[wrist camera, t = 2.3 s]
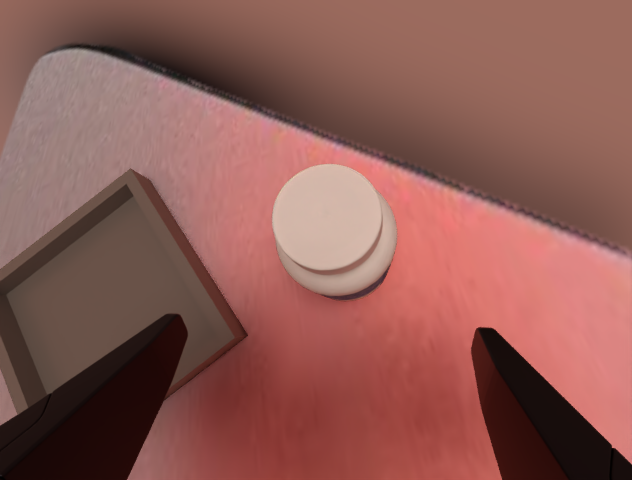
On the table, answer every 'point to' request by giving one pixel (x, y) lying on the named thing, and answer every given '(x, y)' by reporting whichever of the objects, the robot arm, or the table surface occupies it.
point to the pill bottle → (334, 232)
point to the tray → (106, 293)
